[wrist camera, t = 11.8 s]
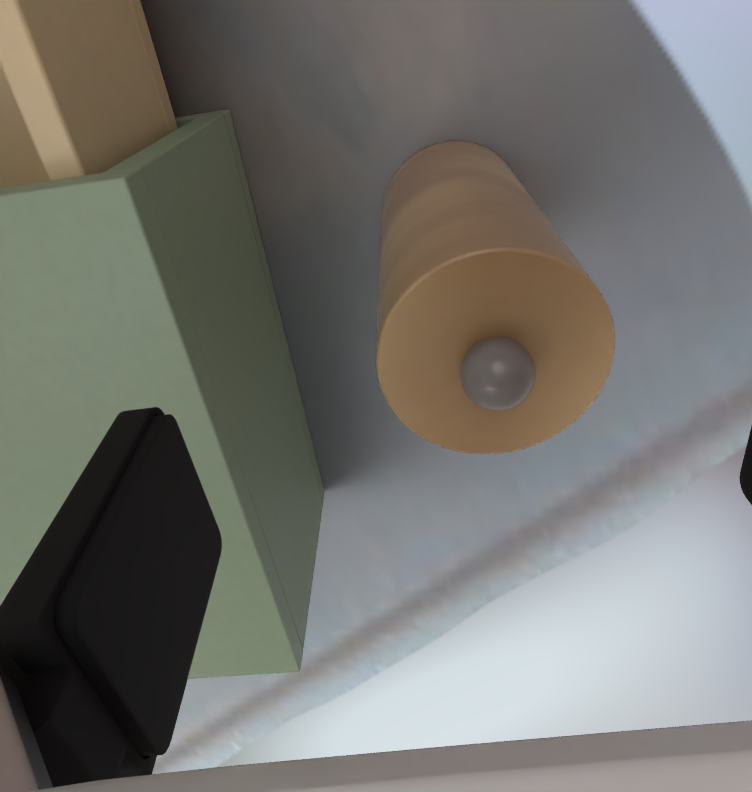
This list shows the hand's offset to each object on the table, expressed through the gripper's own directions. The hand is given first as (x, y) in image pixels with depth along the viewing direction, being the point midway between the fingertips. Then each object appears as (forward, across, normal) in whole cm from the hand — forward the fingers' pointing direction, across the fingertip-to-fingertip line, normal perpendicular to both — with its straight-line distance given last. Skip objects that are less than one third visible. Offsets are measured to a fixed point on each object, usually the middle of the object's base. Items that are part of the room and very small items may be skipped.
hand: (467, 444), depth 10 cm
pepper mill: (+12, -1, 0) cm, 12 cm away
